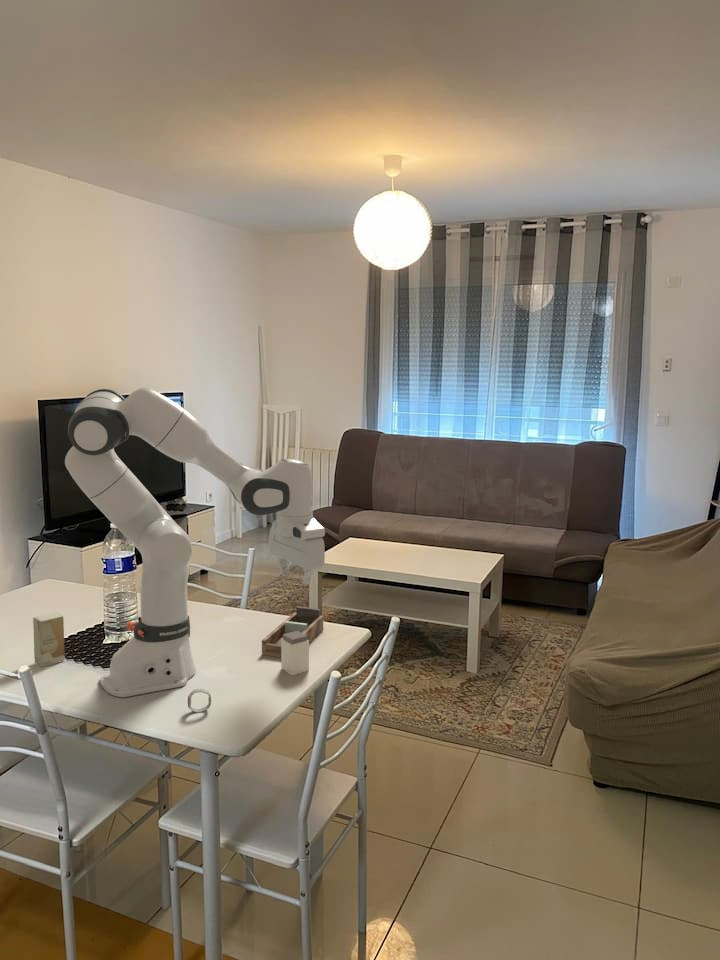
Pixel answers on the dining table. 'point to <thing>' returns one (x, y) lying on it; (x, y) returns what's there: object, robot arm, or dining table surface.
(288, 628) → the plate
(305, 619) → the pusher lane
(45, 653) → the skincare box
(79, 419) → the robot arm
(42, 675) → the dining table surface
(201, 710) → the grey ring
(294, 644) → the cream rectangular box
